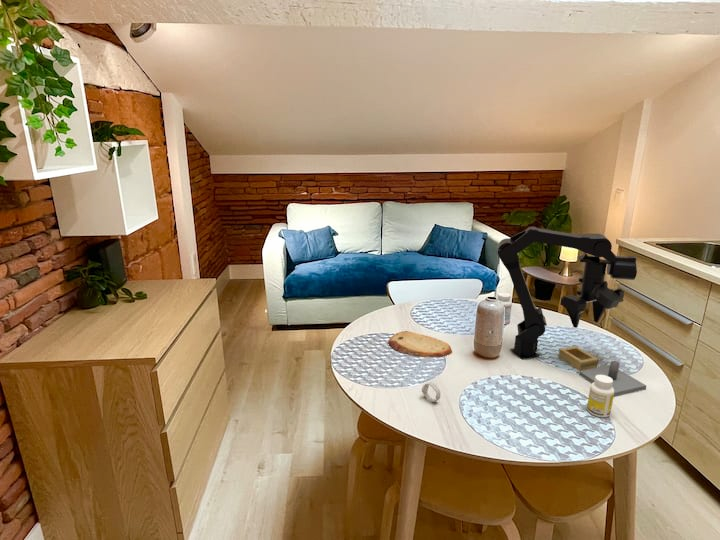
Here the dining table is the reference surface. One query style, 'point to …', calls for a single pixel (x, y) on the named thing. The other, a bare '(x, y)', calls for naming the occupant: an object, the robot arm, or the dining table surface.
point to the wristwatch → (425, 388)
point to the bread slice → (419, 345)
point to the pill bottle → (506, 305)
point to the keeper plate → (617, 384)
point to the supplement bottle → (601, 396)
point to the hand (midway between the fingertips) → (585, 324)
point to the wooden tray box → (578, 358)
